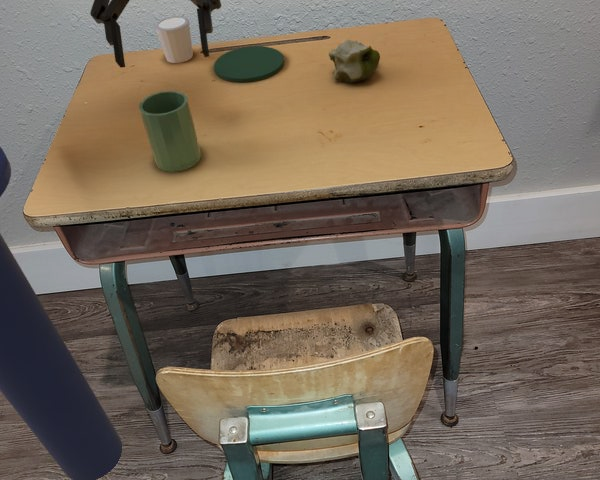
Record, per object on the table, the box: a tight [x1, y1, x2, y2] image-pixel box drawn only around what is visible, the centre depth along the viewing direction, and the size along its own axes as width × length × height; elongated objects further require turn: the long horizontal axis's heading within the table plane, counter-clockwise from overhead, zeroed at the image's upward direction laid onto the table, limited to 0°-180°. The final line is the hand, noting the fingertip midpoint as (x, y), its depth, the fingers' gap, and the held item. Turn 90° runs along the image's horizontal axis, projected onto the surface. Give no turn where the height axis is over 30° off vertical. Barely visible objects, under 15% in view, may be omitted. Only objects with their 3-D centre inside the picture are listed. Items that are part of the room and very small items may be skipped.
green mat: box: [213, 45, 285, 83], centre depth 119 cm, size 14×14×1 cm
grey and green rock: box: [328, 39, 381, 84], centre depth 110 cm, size 9×9×8 cm
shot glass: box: [154, 15, 194, 64], centre depth 122 cm, size 7×7×7 cm
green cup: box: [138, 90, 202, 173], centre depth 94 cm, size 7×7×10 cm
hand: (163, 59), depth 94 cm, fingers open, 13 cm apart
